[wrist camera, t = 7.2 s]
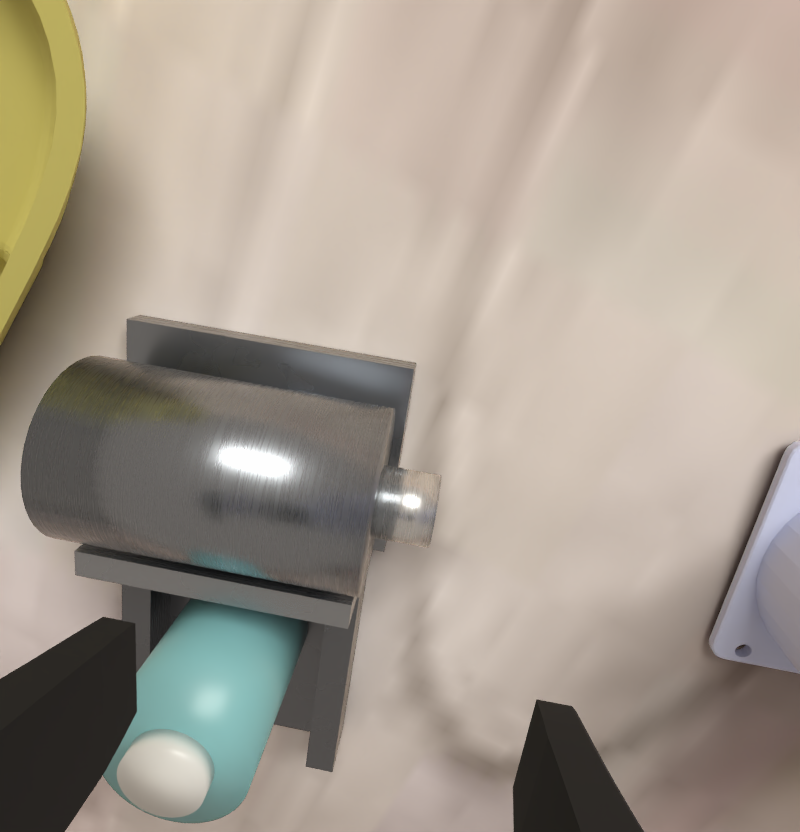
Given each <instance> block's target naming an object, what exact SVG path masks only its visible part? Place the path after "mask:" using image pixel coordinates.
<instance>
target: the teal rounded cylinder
mask: <svg viewBox="0 0 800 832" xmlns="http://www.w3.org/2000/svg"><path fill="white" fill-rule="evenodd" d="M307 630H308V625H307V621H305V620H300V619H295V618H290V617H285V616H280V615H275V614H270V613H264V612H259V611H254V610H249V609H244V608H239V607H234V606H229V605H224V604H219V603H214V602H209V601H204V600H199V599H194V598H191V599H190V600H189V602H188V603H187V604H186V606H185V607H184V608H183V610H182V611H181V613H180V614H179V615H178V617H177V618H176V619H175V621H174V622H173V624H172V625H171V626H170V628H169V629H168V630H167V632H166V633H165V635H164V636H163V637H162V639H161V640H160V641H159V643H158V644H157V646H156V647H155V648H154V650H153V651H152V652H151V654H150V655H149V657H148V658H147V659H146V661H145V662H144V663H143V665H142V666H141V668H140V669H139V670H138V672H137V673H136V681H137V713H136V715H135V717H134V719H133V720H132V722H131V724H130V726H129V728H128V730H127V732H126V734H125V736H124V738H123V740H122V742H121V744H120V745H119V747H118V749H117V751H116V753H115V755H114V756H113V758H112V760H111V762H110V764H109V765H108V767H107V769H106V771H105V772H104V774H103V776H104V778H105V779H106V781H107V782H108V783H109V785H110V786H111V787H112V788H113V789H114V790H115V791H116V792H117V793H118V794H119V795H120V796H121V797H122V798H123V799H125V800H126V801H127V802H129V803H130V804H132V805H133V806H135V807H136V808H138V809H140V810H142V811H144V812H146V813H148V814H150V815H153V816H155V817H158V818H161V819H165V820H169V821H174V822H181V823H203V822H208V821H213V820H216V819H219V818H222V817H224V816H226V815H228V814H229V813H231V812H232V811H234V810H235V809H236V808H237V807H238V806H239V805H240V804H241V803H242V801H243V800H244V799H245V797H246V795H247V793H248V790H249V788H250V785H251V782H252V780H253V777H254V774H255V772H256V769H257V767H258V764H259V761H260V759H261V756H262V753H263V751H264V748H265V745H266V743H267V740H268V738H269V735H270V732H271V730H272V727H273V724H274V722H275V719H276V716H277V714H278V711H279V709H280V706H281V703H282V701H283V698H284V695H285V693H286V690H287V687H288V685H289V682H290V680H291V677H292V674H293V672H294V669H295V666H296V664H297V661H298V658H299V656H300V653H301V651H302V648H303V645H304V643H305V640H306V636H307Z"/></svg>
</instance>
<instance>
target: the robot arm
mask: <svg viewBox="0 0 800 832" xmlns="http://www.w3.org/2000/svg"><path fill="white" fill-rule="evenodd" d="M709 645H710V648H711V649H712V651H713V653H714V654H715V655H716V656H717V657H719V658H722V659H726V660H731V661H737V662H742V663H747V664H752V665H757V666H762V667H768V668H773V669H778V670H783V671H788V672H793V673H798V674H800V440H799V441H796V442H793V443H792V444H791V445H789V446H788V447H787V449H786V450H785V452H784V454H783V456H782V459H781V461H780V464H779V466H778V469H777V471H776V474H775V476H774V479H773V481H772V484H771V486H770V489H769V491H768V494H767V496H766V498H765V501H764V503H763V506H762V508H761V511H760V513H759V516H758V518H757V521H756V523H755V526H754V528H753V531H752V533H751V536H750V538H749V541H748V543H747V546H746V548H745V551H744V553H743V556H742V558H741V561H740V563H739V566H738V568H737V571H736V573H735V576H734V578H733V581H732V583H731V586H730V588H729V590H728V593H727V595H726V598H725V600H724V603H723V605H722V608H721V610H720V613H719V615H718V618H717V620H716V623H715V625H714V628H713V630H712V633H711V635H710V638H709ZM740 645H745V646H744V647H743V648H741V649H736V648H737V647H738V646H740ZM136 713H137V681H136V629H135V623H132V622H127V621H121V620H116V619H111V618H106V617H102V618H101V619H99V620H97V621H95V622H94V623H92V624H90V625H89V626H87V627H85V628H84V629H82V630H80V631H79V632H77V633H75V634H74V635H72V636H70V637H69V638H67V639H65V640H64V641H62V642H61V643H59V644H57V645H56V646H54V647H52V648H51V649H49V650H48V651H46V652H44V653H43V654H41V655H39V656H38V657H36V658H34V659H33V660H31V661H30V662H28V663H26V664H25V665H23V666H21V667H20V668H18V669H16V670H15V671H13V672H11V673H10V674H8V675H6V676H5V677H3V678H1V679H0V832H65V830H66V829H67V827H68V826H69V824H70V823H71V822H72V820H73V819H74V817H75V816H76V814H77V813H78V811H79V810H80V808H81V807H82V805H83V804H84V802H85V801H86V799H87V798H88V796H89V795H90V793H91V792H92V790H93V789H94V787H95V786H96V784H97V783H98V781H99V780H100V778H101V777H102V775H103V774H104V772H105V771H106V769H107V767H108V765H109V764H110V762H111V760H112V758H113V756H114V755H115V753H116V751H117V749H118V747H119V745H120V744H121V742H122V740H123V738H124V736H125V734H126V732H127V730H128V728H129V726H130V724H131V722H132V720H133V719H134V717H135V715H136ZM513 813H514V832H644V831H643V829H642V828H641V826H640V824H639V823H638V821H637V819H636V818H635V816H634V815H633V813H632V811H631V810H630V808H629V806H628V805H627V803H626V801H625V799H624V798H623V796H622V794H621V792H620V791H619V789H618V787H617V786H616V784H615V782H614V780H613V778H612V777H611V775H610V773H609V771H608V770H607V768H606V766H605V764H604V762H603V761H602V759H601V757H600V755H599V753H598V751H597V750H596V748H595V746H594V744H593V742H592V740H591V738H590V737H589V735H588V733H587V731H586V729H585V727H584V725H583V723H582V722H581V720H580V718H579V716H578V714H577V712H576V711H575V709H574V708H573V707H572V706H568V705H562V704H557V703H552V702H547V701H541V700H536V704H535V707H534V711H533V715H532V719H531V722H530V726H529V730H528V733H527V737H526V741H525V745H524V748H523V752H522V756H521V760H520V763H519V767H518V771H517V774H516V778H515V782H514V786H513Z"/></svg>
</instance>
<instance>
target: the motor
mask: <svg viewBox="0 0 800 832" xmlns="http://www.w3.org/2000/svg"><path fill="white" fill-rule="evenodd" d="M415 368H416V363H412V362H406V361H400V360H395V359H389V358H383V357H378V356H372V355H366V354H360V353H355V352H349V351H343V350H337V349H332V348H326V347H320V346H314V345H309V344H303V343H297V342H291V341H286V340H280V339H274V338H269V337H263V336H257V335H251V334H246V333H240V332H234V331H228V330H223V329H217V328H211V327H205V326H200V325H194V324H188V323H182V322H177V321H171V320H165V319H160V318H154V317H148V316H142V315H139V316H136V317H132V318H129V319H127V361H126V360H121V359H115V358H110V357H104V356H90V357H86V358H83V359H81V360H79V361H77V362H75V363H74V364H72V365H71V366H69V367H68V368H67V369H66V370H65V371H63V372H62V373H61V374H60V375H59V376H58V377H57V379H56V380H55V381H54V382H53V383H52V385H51V386H50V387H49V389H48V390H47V392H46V393H45V395H44V397H43V398H42V400H41V402H40V403H39V405H38V407H37V410H36V412H35V414H34V416H33V419H32V421H31V424H30V427H29V430H28V433H27V437H26V440H25V444H24V450H23V455H22V463H21V490H22V498H23V502H24V506H25V509H26V511H27V514H28V516H29V518H30V520H31V522H32V523H33V525H34V526H35V527H36V528H37V529H38V530H39V531H40V532H41V533H43V534H44V535H46V536H49V537H52V538H56V539H61V540H66V541H71V542H76V543H81V544H83V545H81V546H80V547H79V548H78V549H77V550H75V575H77V576H82V577H87V578H93V579H98V580H103V581H108V582H113V583H118V584H122V621H127V622H132V623H135V629H136V673H137V672H138V670H139V669H140V668H141V666H142V665H143V663H144V662H145V661H146V659H147V658H148V657H149V655H150V654H151V652H152V651H153V650H154V648H155V647H156V646H157V644H158V643H159V641H160V640H161V639H162V637H163V636H164V635H165V633H166V632H167V630H168V629H169V628H170V626H171V625H172V624H173V622H174V621H175V619H176V618H177V617H178V615H179V614H180V613H181V611H182V610H183V608H184V607H185V606H186V604H187V603H188V602H189V600H190V599H191V598H194V599H199V600H204V601H209V602H214V603H219V604H224V605H229V606H234V607H239V608H244V609H249V610H254V611H259V612H264V613H270V614H275V615H280V616H285V617H290V618H295V619H300V620H305V621H307V625H308V630H307V636H306V640H305V643H304V645H303V648H302V651H301V653H300V656H299V658H298V661H297V664H296V666H295V669H294V672H293V674H292V677H291V680H290V682H289V685H288V687H287V690H286V693H285V695H284V698H283V701H282V703H281V706H280V709H279V711H278V714H277V716H276V719H275V722H274V724H276V725H281V726H286V727H291V728H296V729H300V730H305V731H310V738H309V746H308V753H307V761H306V767H311V768H316V769H320V770H325V771H330V772H332V771H333V767H334V763H335V759H336V754H337V750H338V746H339V742H340V738H341V733H342V729H343V724H344V717H345V711H346V705H347V698H348V692H349V686H350V679H351V673H352V666H353V660H354V654H355V647H356V641H357V635H358V628H359V622H360V615H361V609H362V603H363V596H364V590H365V584H366V577H367V571H368V567H369V563H370V559H371V555H372V550H378V551H383V552H384V549H385V545H386V541H387V540H389V541H395V542H400V543H405V544H410V545H416V546H421V547H426V548H429V545H430V541H431V537H432V532H433V527H434V521H435V516H436V510H437V504H438V498H439V491H440V484H441V475H436V474H431V473H425V472H420V471H414V470H409V469H403V468H399V464H400V458H401V452H402V446H403V440H404V434H405V428H406V422H407V416H408V410H409V404H410V398H411V392H412V386H413V380H414V374H415Z"/></svg>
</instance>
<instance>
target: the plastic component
mask: <svg viewBox="0 0 800 832" xmlns="http://www.w3.org/2000/svg"><path fill="white" fill-rule="evenodd" d="M85 122H86V81H85V71H84V63H83V55H82V50H81V46H80V41H79V37H78V33H77V29H76V26H75V23H74V20H73V17H72V14H71V11H70V8H69V6H68V3H67V1H66V0H0V346H1V344H2V342H3V340H4V338H5V336H6V334H7V332H8V330H9V329H10V327H11V325H12V323H13V321H14V319H15V317H16V315H17V313H18V311H19V309H20V307H21V306H22V304H23V302H24V300H25V298H26V296H27V294H28V292H29V290H30V288H31V286H32V284H33V283H34V281H35V279H36V277H37V275H38V273H39V271H40V269H41V267H42V265H43V258H44V257H45V255H46V253H47V251H48V249H49V247H50V245H51V243H52V241H53V238H54V236H55V234H56V231H57V229H58V227H59V225H60V222H61V220H62V217H63V214H64V211H65V208H66V205H67V202H68V199H69V195H70V191H71V188H72V185H73V182H74V178H75V175H76V171H77V168H78V163H79V159H80V155H81V150H82V144H83V138H84V131H85Z"/></svg>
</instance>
